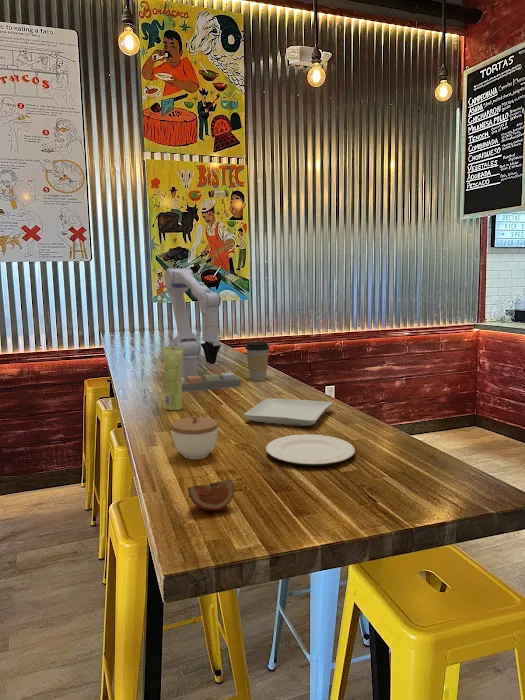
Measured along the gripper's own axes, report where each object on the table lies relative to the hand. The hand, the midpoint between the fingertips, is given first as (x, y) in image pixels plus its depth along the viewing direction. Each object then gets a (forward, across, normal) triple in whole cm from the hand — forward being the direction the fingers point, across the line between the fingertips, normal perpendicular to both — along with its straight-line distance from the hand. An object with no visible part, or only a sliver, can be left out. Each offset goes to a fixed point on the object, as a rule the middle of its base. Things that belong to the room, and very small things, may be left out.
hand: (210, 363), depth 198 cm
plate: (+10, -78, -1) cm, 79 cm away
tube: (+10, -24, +19) cm, 32 cm away
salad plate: (+10, -47, -10) cm, 49 cm away
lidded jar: (+10, -68, +24) cm, 73 cm away
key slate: (+7, 0, -6) cm, 9 cm away
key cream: (+7, 0, +13) cm, 14 cm away
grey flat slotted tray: (+9, 0, +3) cm, 10 cm away
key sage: (+7, 0, 0) cm, 7 cm away
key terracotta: (+7, 0, +6) cm, 9 cm away
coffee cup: (+10, +4, -20) cm, 22 cm away
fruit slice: (+10, -97, +29) cm, 102 cm away
